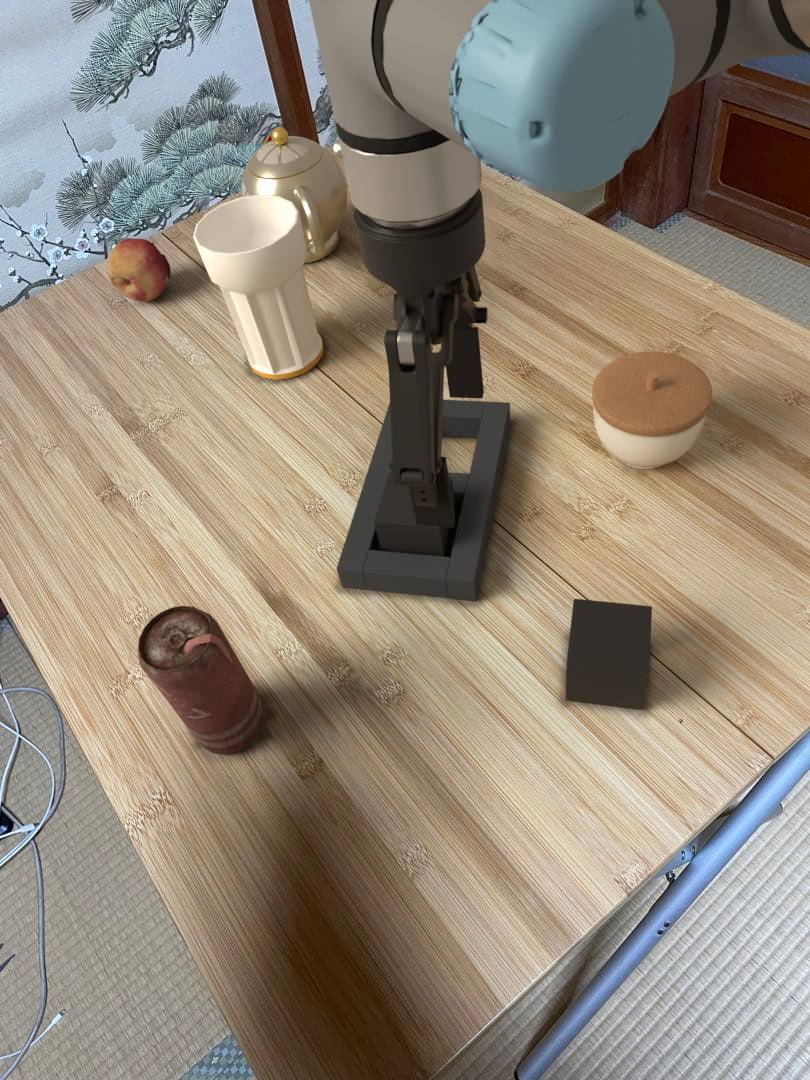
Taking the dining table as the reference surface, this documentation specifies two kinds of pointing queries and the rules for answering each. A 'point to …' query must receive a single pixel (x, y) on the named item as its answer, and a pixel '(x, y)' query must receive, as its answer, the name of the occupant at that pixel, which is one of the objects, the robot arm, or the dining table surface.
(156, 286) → the fruit
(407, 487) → the dark grey cube
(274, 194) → the teapot
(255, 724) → the can
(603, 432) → the trinket box
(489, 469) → the base frame
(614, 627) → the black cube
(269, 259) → the cup
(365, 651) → the dining table surface
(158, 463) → the dining table surface
